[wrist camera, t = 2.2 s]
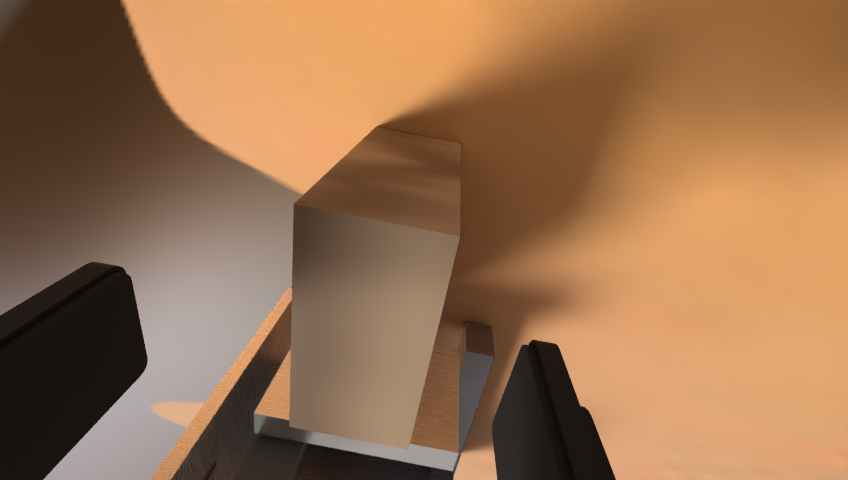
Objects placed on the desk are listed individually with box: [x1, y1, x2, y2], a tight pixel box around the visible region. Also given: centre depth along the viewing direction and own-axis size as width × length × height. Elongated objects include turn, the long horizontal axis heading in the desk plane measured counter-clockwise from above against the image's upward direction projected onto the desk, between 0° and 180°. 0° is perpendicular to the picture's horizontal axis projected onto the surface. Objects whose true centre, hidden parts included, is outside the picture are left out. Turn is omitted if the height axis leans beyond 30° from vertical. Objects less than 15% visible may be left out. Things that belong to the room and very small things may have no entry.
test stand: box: [150, 287, 495, 480], centre depth 19 cm, size 12×12×13 cm
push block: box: [289, 127, 461, 450], centre depth 15 cm, size 4×8×10 cm, turn 170°
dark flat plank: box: [233, 433, 307, 480], centre depth 18 cm, size 2×1×10 cm, turn 80°
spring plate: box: [254, 345, 459, 471], centre depth 19 cm, size 8×3×6 cm, turn 80°
